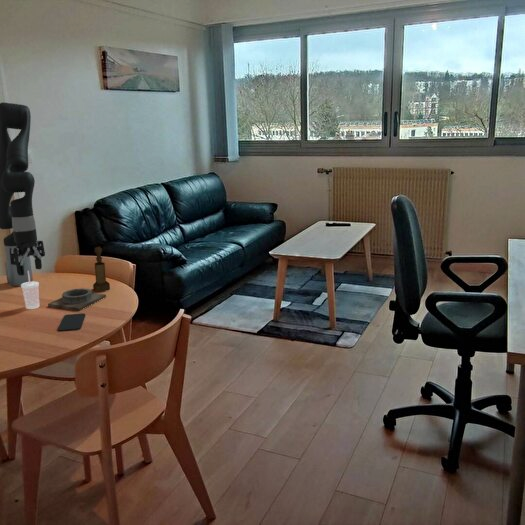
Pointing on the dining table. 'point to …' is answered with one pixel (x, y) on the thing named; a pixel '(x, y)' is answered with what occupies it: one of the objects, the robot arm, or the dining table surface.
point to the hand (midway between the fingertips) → (30, 272)
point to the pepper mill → (100, 273)
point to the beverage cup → (31, 293)
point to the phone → (71, 322)
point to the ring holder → (76, 299)
